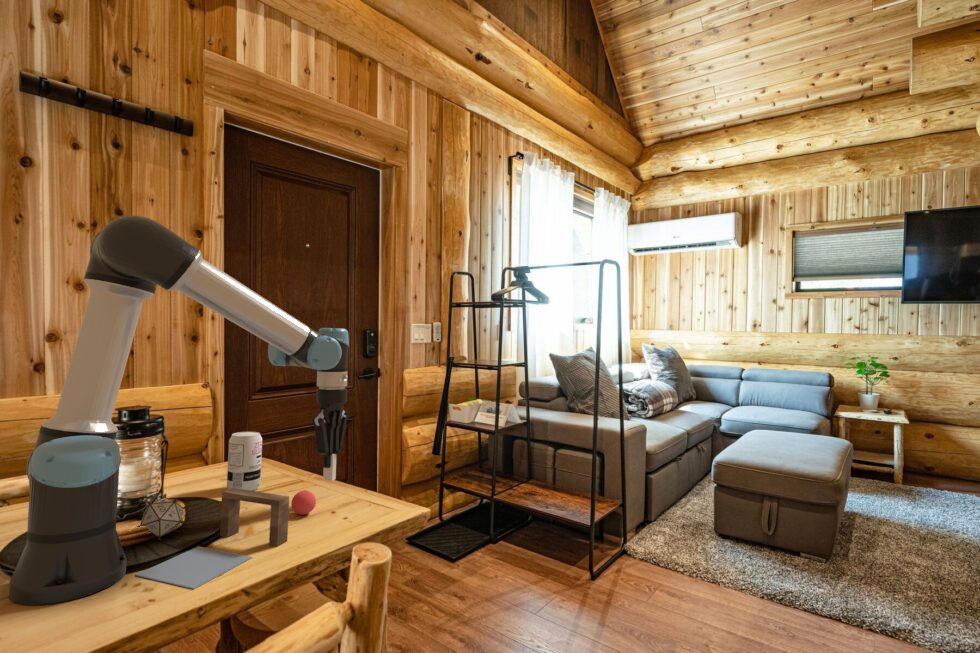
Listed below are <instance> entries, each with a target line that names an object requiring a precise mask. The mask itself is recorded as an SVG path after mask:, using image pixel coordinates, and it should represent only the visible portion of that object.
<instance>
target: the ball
mask: <svg viewBox="0 0 980 653" xmlns="http://www.w3.org/2000/svg"><path fill="white" fill-rule="evenodd" d="M316 503H317V499H316V496H315V494H314V493H313V492H312V491H309V490H304V489H303V490H300V491H298V492H296V493H295V495H293V497H292V500H291V505H290V506H291V509H292V511H293V512H294V513H295V514H297V515H303V516H304V515H308V514H309V513H311V512H312V511H313V510H314V508H315V507H316Z"/></svg>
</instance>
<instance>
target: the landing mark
mask: <svg viewBox="0 0 980 653" xmlns="http://www.w3.org/2000/svg"><path fill="white" fill-rule="evenodd" d="M250 559H253V557H252V556H249V555H244V554H239V553H234V552H229V551H224V550H220V549H214V548H209V547H203V546H200V545H198V546H196V547H193V548H191V549H190V550H187V551H185V552H183V553H180V554H178V555H176V556H174V557H172V558H170V559H167V560H164V561H163V562H161V563H159V564H156V565H154V566H152V567H150V568H147V569H145V570H142V571H141V572H138V573H135V577H138V578H144V579H147V580H151V581H152V580H153V581H156V582H160V583H164V584H170V585H172V586H177V587H181V588H187V589H190V590H196V589H197V588H199V587H200V586H202V585H204V584H207V583H208V582H210V581H212V580H214V579H216V578H218V577H219V576H221V575H224V574H225V573H226V572H229V571H230V570H233V569H234V568H236V567H238V566H240V565H242V564H243V563H245V562H247V561H249V560H250Z"/></svg>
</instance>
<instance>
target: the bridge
mask: <svg viewBox="0 0 980 653" xmlns="http://www.w3.org/2000/svg"><path fill="white" fill-rule="evenodd" d="M241 501H242V502H248V503H254V504H260V505H267V506H270V515H269V516H270V518H269V537H268V538H269V539H268V546H271V547H279V546H281V545H283V544H284V543H287V542H288V535H289V531H288V530H289V514H290V496H288V495H283V494H276V493H269V492H261V491H255V490H254V491H250V490H243V489H237V488H232V489H229V490H228V489H225V490H223V491H222V492H221V508H220V509H221V510H220V525H219V526H220V528H219V529H220V530H219V536H220V537H224V538H229V537H232V536H234V535H236V534H238V533H239V531H240V529H239V528H240V513H241V512H240V510H241Z"/></svg>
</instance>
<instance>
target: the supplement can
mask: <svg viewBox="0 0 980 653" xmlns="http://www.w3.org/2000/svg"><path fill="white" fill-rule="evenodd" d="M262 452H263V437H262V436H261V432H257V431H238V432H234V433H232V434H231V437H230V438H229V440H228V454H227V455H228V457H227V472H226V474H227V476H226V490H229V489H232V488H237V489H243V490H250V491H255V490H258V488H259V487H260V486H261V476H262V458H263V457H262V456H263V454H262Z"/></svg>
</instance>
